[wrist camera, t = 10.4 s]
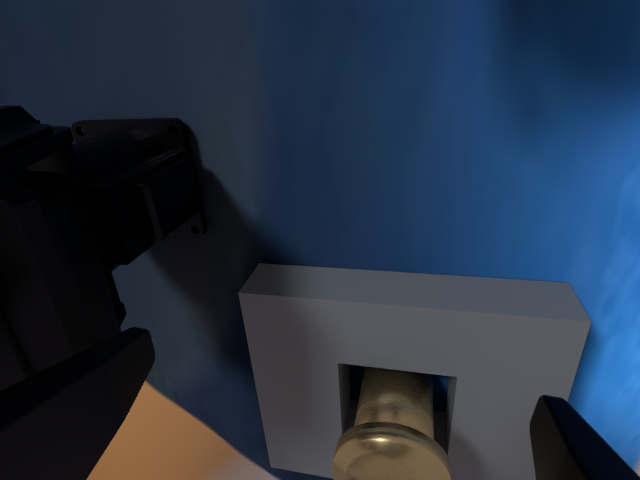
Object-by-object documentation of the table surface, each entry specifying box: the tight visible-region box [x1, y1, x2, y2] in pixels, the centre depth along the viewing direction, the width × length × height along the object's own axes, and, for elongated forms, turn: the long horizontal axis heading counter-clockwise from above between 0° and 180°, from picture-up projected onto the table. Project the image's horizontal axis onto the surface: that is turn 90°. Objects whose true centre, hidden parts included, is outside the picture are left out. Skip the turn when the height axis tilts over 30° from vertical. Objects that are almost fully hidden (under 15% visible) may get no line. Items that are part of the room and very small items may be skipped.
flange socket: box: [238, 263, 592, 480], centre depth 23 cm, size 16×14×3 cm
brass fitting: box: [332, 366, 451, 480], centre depth 21 cm, size 5×5×7 cm
